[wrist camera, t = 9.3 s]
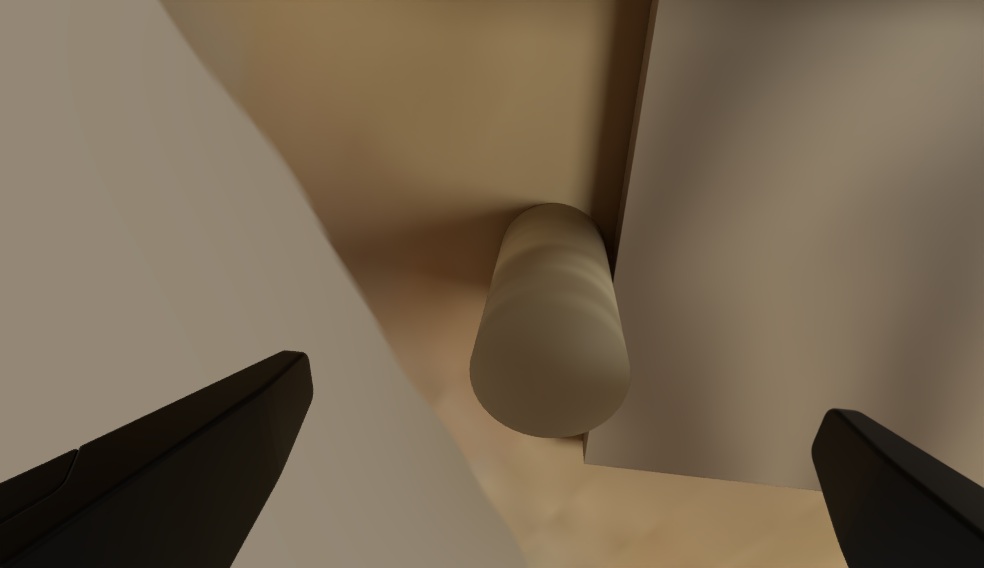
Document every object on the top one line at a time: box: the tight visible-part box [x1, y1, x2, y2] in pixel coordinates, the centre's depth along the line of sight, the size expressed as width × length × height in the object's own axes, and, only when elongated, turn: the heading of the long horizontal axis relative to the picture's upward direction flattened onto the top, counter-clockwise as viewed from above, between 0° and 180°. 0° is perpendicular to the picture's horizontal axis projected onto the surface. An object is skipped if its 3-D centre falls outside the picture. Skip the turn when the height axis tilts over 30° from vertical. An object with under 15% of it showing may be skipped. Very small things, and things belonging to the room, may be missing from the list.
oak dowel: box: [470, 203, 631, 438], centre depth 12 cm, size 3×3×6 cm
